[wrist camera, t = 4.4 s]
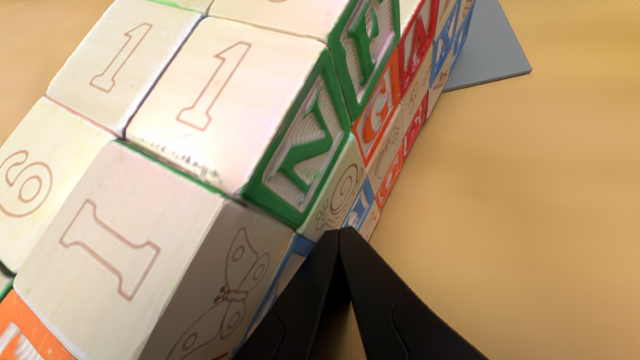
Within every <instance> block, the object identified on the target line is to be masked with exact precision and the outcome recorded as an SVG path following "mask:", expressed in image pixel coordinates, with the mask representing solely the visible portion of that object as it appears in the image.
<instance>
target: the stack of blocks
mask: <svg viewBox="0 0 640 360" xmlns="http://www.w3.org/2000/svg"><path fill="white" fill-rule="evenodd" d="M475 1H476V0H115V2H114V3H113V4H112V5H111V6H110V7H109V8H108V9H107V10H106V12H105V13H104V14H103V15H102V16H101V17H100V19H99V20H98V21H97V22H96V24H95V25H94V26H93V28H92V29H91V30H90V31H89V33H88V34H87V35H86V37H85V38H84V39H83V41H82V42H81V43H80V45H79V46H78V47H77V48H76V50H75V51H74V52H73V53H72V54H71V56H70V57H69V58H68V59H67V60H66V62H65V63H64V64H63V66H62V67H61V68H60V70H59V71H58V73H57V74H56V75H55V77H54V78H53V79H52V81H51V83H50V85H49V88H48V90H47V92H46V94H45V95H44V96H43V97H41V98H40V99H39V100H38V101H37V103H36V104H35V105H34V106H33V107H32V109H31V110H30V111H29V112H28V114H27V115H26V116H25V117H24V119H23V120H22V121H21V122H20V124H19V125H18V126H17V128H16V129H15V130H14V131H13V133H12V134H11V135H10V137H9V138H8V139H7V141H6V142H5V143H4V145H3V146H2V147H1V149H0V360H230V359H231V358H232V357H233V356H234V354H235V353H236V352H237V351H238V350H239V348H240V347H241V346H242V345H243V344H244V342H245V341H246V340H247V339H248V338H249V336H250V335H251V334H252V332H253V331H254V330H255V328H256V327H257V326H258V324H259V323H260V322H261V320H262V319H263V318H264V316H265V315H266V313H267V312H268V311H269V309H271V307H272V305H273V304H274V302H275V301H276V299H277V298H278V297H279V295H280V294H281V292H282V291H283V290H284V288H285V287H286V285H287V284H288V283H289V281H290V280H291V278H292V277H293V276H294V274H295V273H296V271H297V270H298V269H299V267H300V266H301V264H302V263H303V261H304V260H305V259H306V257H307V256H308V254H309V253H310V252H311V250H312V249H313V247H314V246H315V245H316V243H317V242H318V240H319V239H320V238H321V236H322V235H323V233H324V232H325V231H326V230H331V229H340V228H342V227H348V226H353V227H354V228H355V229H356V230H357V231H358V232H359V233H360V234H361V236H362V237H363V238H364V239H365V240H366V241H367V242H368V240H369V238H370V236H371V234H372V232H373V230H374V228H375V226H376V224H377V222H378V220H379V218H380V210H381V208H382V207H383V205H384V203H385V201H386V199H387V197H388V194H389V192H390V191H391V189H392V187H393V185H394V183H395V181H396V179H397V177H398V175H399V173H400V171H401V169H402V165H403V162H404V160H405V158H406V156H407V154H408V153H409V151H410V149H411V147H412V145H413V143H414V140H415V138H416V136H417V134H418V132H419V130H420V128H421V126H422V124H423V122H424V120H426V119H427V118H428V117H429V115H430V113H431V111H432V109H433V107H434V105H435V103H436V101H437V99H438V97H439V95H440V93H441V91H442V89H443V87H444V85H445V83H446V81H447V79H448V75H449V74H450V72H451V70H452V68H453V66H454V64H455V62H456V60H457V58H458V56H459V54H460V52H461V50H462V47H463V46H464V44H465V41H466V38H467V35H468V30H469V26H470V21H471V18H472V13H473V9H474V5H475Z"/></svg>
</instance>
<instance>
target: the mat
mask: <svg viewBox="0 0 640 360" xmlns="http://www.w3.org/2000/svg"><path fill="white" fill-rule="evenodd" d="M531 71H532V68H531V66H530V64H529V62H528V60H527V58H526V56H525V54H524V52H523V50H522V48H521V46H520V44H519V42H518V40H517V38H516V36H515V34H514V32H513V30H512V27H511V25H510V23H509V21H508V19H507V17H506V15H505V13H504V11H503V9H502V7H501V5H500V3H499V1H498V0H476V1H475V5H474V9H473V13H472V18H471V21H470V26H469V30H468V35H467V38H466V41H465V44H464V46H463V47H462V50H461V52H460V54H459V56H458V58H457V60H456V62H455V64H454V66H453V68H452V70H451V72H450V74H449V75H448V79H447V81H446V83H445V85H444V87H443V89H442V91H441V93H442V92H447V91H451V90H456V89H460V88H465V87H469V86H474V85H478V84H483V83H487V82H492V81H496V80H501V79H505V78H510V77H514V76H519V75H523V74H528V73H530V72H531Z"/></svg>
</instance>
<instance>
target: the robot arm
mask: <svg viewBox="0 0 640 360" xmlns="http://www.w3.org/2000/svg"><path fill="white" fill-rule="evenodd" d="M351 302H352V304H351ZM352 306H353V309H354V313H355V317H356V321H357V325H358V328H359V332H360V336H361V340H362V344H363V348H364V351H365V355H366V359H367V360H489V359H488V358H487V357H486V356H484V355H483V354H482V353H481V352H480V351H478V350H477V349H476V348H475V347H474V346H472V345H471V344H470V343H469V342H468V341H467V340H465V339H464V338H463V337H462V336H461V335H459V334H458V333H457V332H456V331H455V330H453V329H452V328H451V327H450V326H449V325H448V324H446V323H445V322H444V321H443V320H442V319H441V318H440V317H438V316H437V315H436V314H435V313H434V312H433V311H432V310H431V309H430V308H429V307H428V306H427V305H426V304H425V303H424V302H423V301H422V300H421V299H420V298H419V297H418V296H417V295H416V294H415V293H414V292H413V291H412V289H411V288H409V287H408V285H407V284H406V283H405V282H404V281H403V280H402V279H401V278H400V277H399V276H398V275H397V273H396V272H395V271H394V270H393V269H392V268H391V267H390V266H389V265H388V264H387V263H386V262H385V260H384V259H383V258H382V257H381V256H380V255H379V254H378V253H377V252H376V251H375V250H374V249H373V247H372V246H371V245H370V244H369V243H368V242H367V241H366V240H365V239H364V238H363V237H362V236H361V234H360V233H359V232H358V231H357V230H356V229H355V228H354V227H353V226H348V227H342V228H340V229H331V230H326V231H325V232H324V233H323V235H322V236H321V238H320V239H319V240H318V242H317V243H316V245H315V246H314V247H313V249H312V250H311V252H310V253H309V254H308V256H307V257H306V259H305V260H304V261H303V263H302V264H301V266H300V267H299V269H298V270H297V271H296V273H295V274H294V276H293V277H292V278H291V280H290V281H289V283H288V284H287V285H286V287H285V288H284V290H283V291H282V292H281V294H280V295H279V297H278V298H277V299H276V301H275V302H274V304H273V305H272V307H271V309H269V311H268V312H267V313H266V315H265V316H264V318H263V319H262V320H261V322H260V323H259V324H258V326H257V327H256V328H255V330H254V331H253V332H252V334H251V335H250V336H249V338H248V339H247V340H246V341H245V342H244V344H243V345H242V346H241V347H240V348H239V350H238V351H237V352H236V353H235V354H234V356H233V357H232V358H231V359H230V360H352Z"/></svg>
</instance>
